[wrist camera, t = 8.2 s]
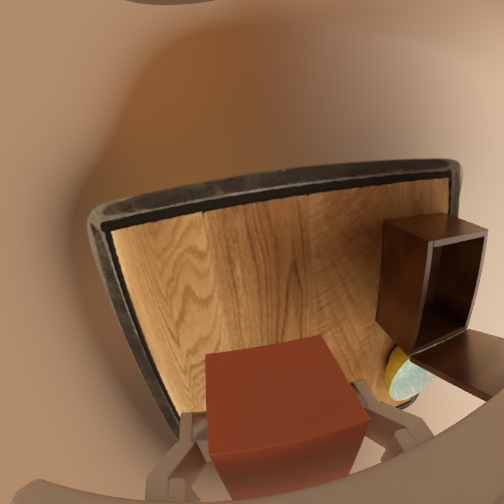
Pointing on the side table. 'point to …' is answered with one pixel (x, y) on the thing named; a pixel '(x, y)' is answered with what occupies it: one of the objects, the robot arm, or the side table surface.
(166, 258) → the side table surface
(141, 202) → the side table surface
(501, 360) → the lid
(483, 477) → the robot arm
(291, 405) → the block
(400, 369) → the bowl
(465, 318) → the chest
